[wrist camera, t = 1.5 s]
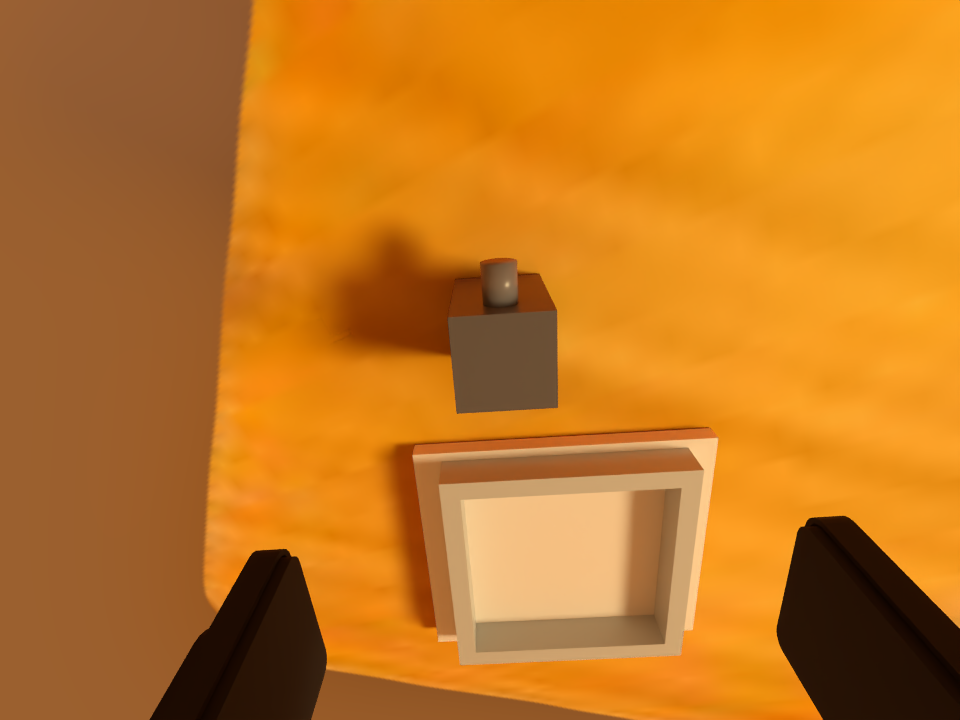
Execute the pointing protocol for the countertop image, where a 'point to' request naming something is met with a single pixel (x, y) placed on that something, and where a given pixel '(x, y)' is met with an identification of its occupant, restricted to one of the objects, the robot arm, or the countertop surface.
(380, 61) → the countertop surface
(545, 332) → the connector plug
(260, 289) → the countertop surface
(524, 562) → the tray
